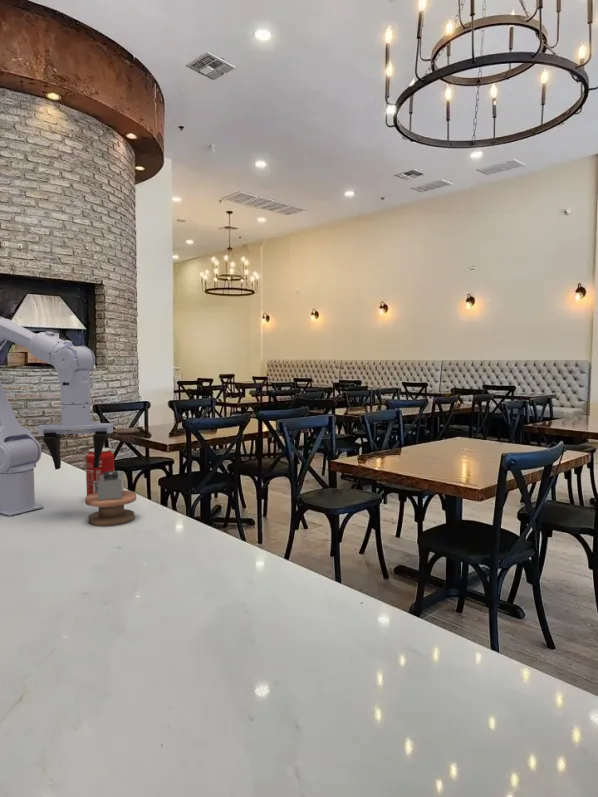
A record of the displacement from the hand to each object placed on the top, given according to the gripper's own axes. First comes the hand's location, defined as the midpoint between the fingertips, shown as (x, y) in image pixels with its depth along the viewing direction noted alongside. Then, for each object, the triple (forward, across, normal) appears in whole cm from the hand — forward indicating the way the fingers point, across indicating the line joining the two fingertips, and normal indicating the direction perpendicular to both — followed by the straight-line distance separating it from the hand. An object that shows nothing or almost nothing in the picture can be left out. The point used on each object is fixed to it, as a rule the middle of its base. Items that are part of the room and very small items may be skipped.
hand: (77, 467), depth 115 cm
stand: (+10, -7, +4) cm, 13 cm away
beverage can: (+11, -3, -14) cm, 18 cm away
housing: (+5, -7, +4) cm, 10 cm away
